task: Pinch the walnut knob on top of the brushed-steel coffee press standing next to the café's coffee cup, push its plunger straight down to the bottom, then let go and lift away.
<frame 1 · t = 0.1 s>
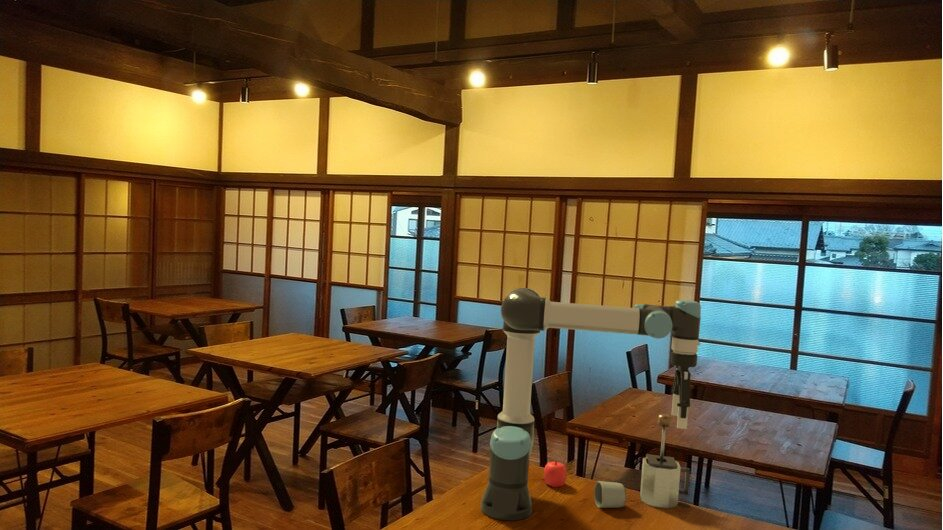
hand: (678, 421, 199), 28 cm above the table, fingers open, 13 cm apart
ceramic mug: (607, 505, 204), on the table
plunger: (662, 442, 208), point 19 cm above the table, slide at 0.0 cm
carafe: (658, 501, 209), on the table
apple: (554, 485, 218), on the table
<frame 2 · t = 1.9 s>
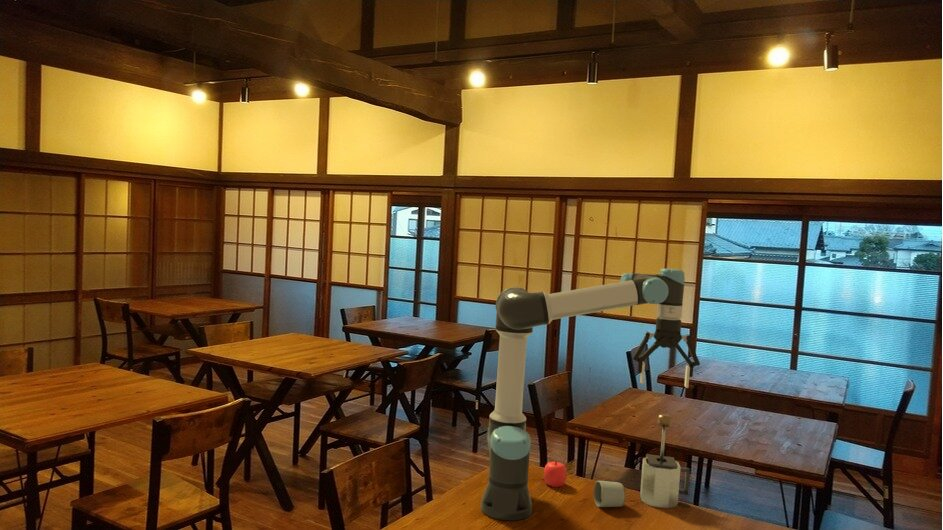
hand: (664, 385, 208), 37 cm above the table, fingers open, 13 cm apart
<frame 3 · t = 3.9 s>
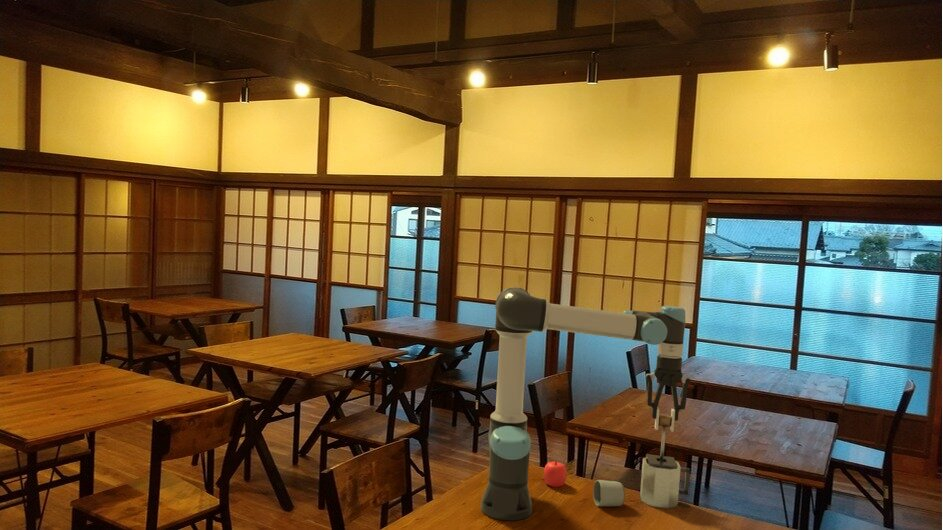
hand: (664, 429, 208), 23 cm above the table, fingers closed on plunger, 4 cm apart
plunger: (662, 443, 208), point 19 cm above the table, slide at 0.0 cm, touching gripper
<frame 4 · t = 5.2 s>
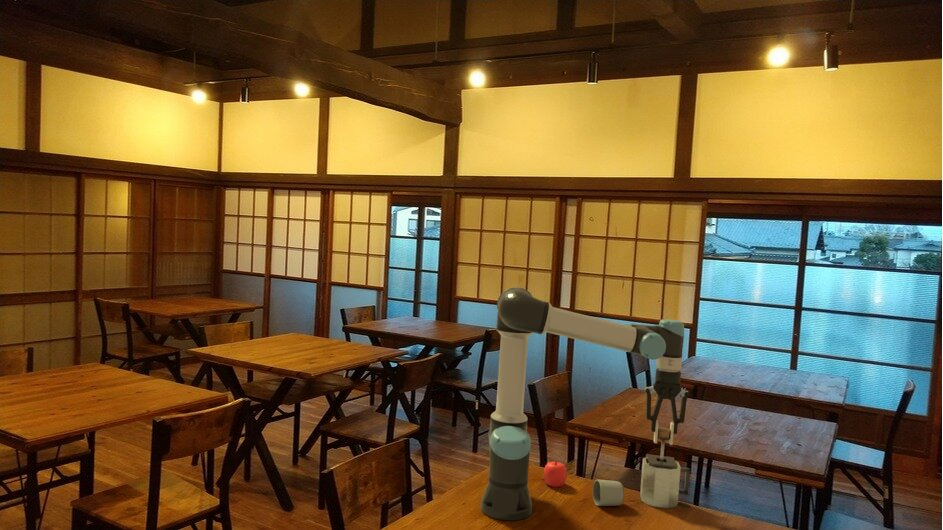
hand: (663, 442, 208), 19 cm above the table, fingers closed on plunger, 4 cm apart
plunger: (661, 456, 208), point 14 cm above the table, slide at 4.3 cm, touching gripper
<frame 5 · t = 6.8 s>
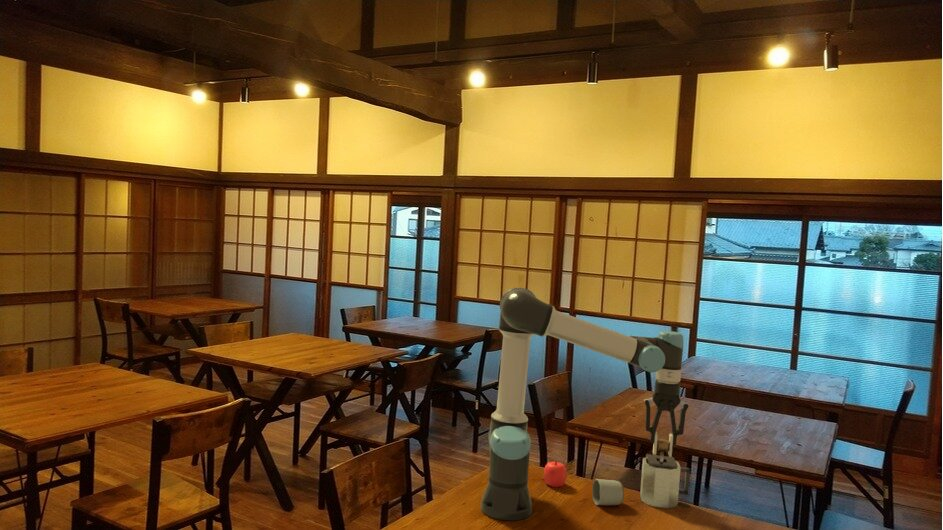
hand: (662, 454, 208), 15 cm above the table, fingers closed on plunger, 4 cm apart
plunger: (661, 467, 208), point 11 cm above the table, slide at 8.0 cm, touching gripper
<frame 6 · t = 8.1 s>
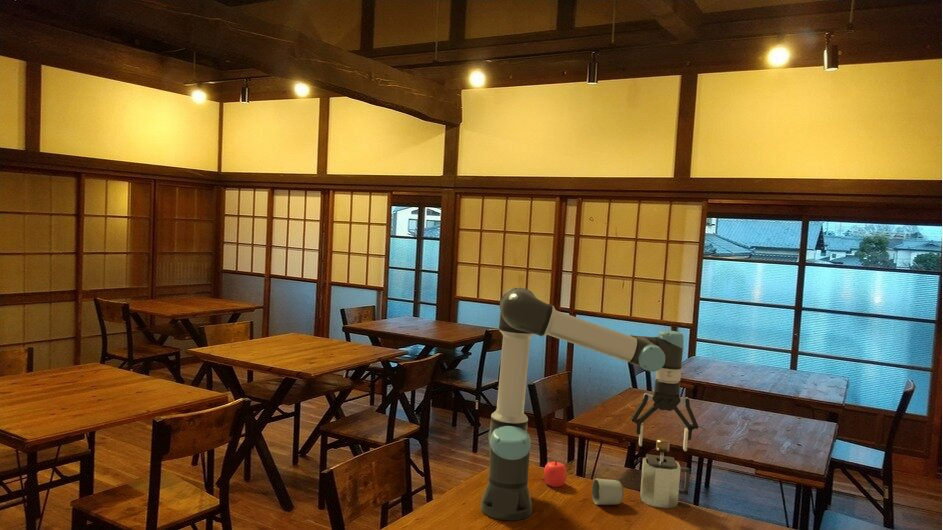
hand: (662, 447, 208), 17 cm above the table, fingers open, 13 cm apart
plunger: (661, 467, 208), point 11 cm above the table, slide at 8.0 cm
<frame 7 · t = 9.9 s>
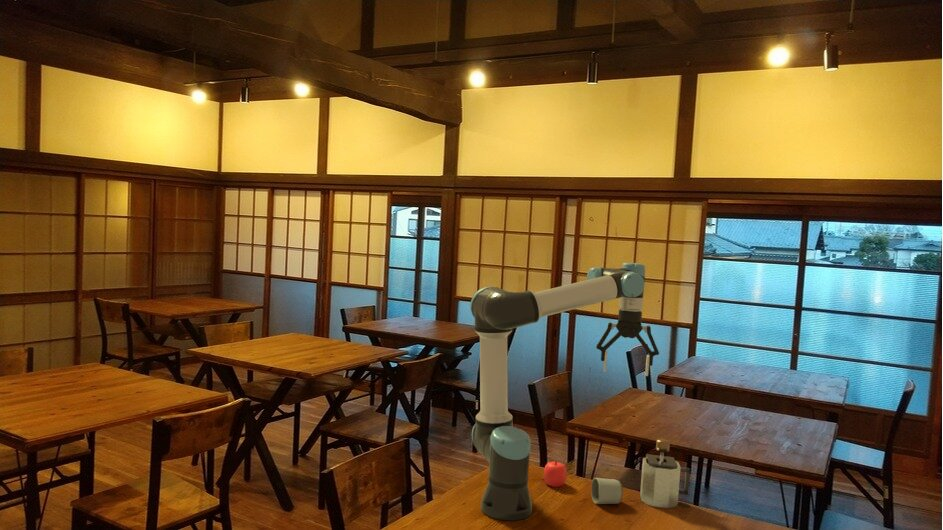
hand: (625, 373, 220), 37 cm above the table, fingers open, 13 cm apart
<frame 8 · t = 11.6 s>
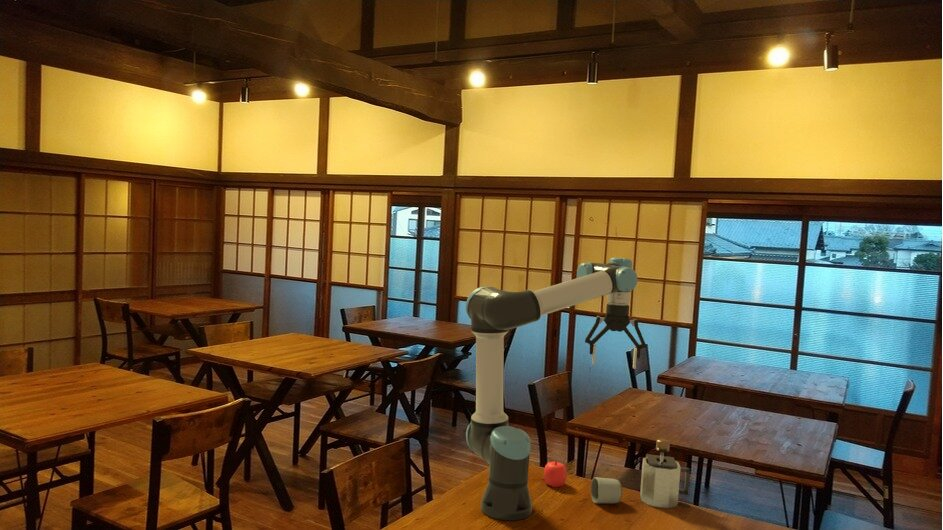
hand: (613, 366, 224), 39 cm above the table, fingers open, 13 cm apart
at the end: plunger slide at 8.0 cm; the gripper is holding nothing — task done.
